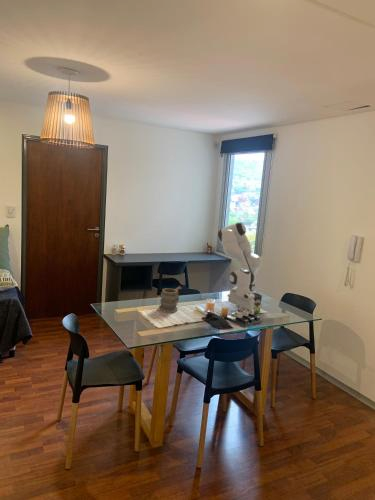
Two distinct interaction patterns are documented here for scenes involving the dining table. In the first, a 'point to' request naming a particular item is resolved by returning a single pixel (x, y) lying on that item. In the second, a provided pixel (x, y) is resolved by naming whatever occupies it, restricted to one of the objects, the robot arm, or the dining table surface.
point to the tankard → (169, 300)
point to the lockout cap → (224, 312)
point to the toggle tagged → (245, 313)
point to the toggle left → (239, 314)
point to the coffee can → (256, 303)
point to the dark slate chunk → (217, 321)
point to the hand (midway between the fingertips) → (239, 311)
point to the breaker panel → (243, 319)
